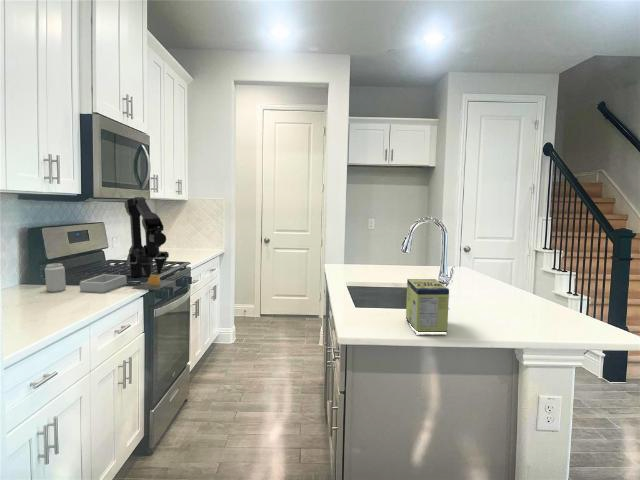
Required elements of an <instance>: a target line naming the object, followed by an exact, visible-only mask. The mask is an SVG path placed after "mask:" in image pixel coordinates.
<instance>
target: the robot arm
mask: <svg viewBox="0 0 640 480" xmlns="http://www.w3.org/2000/svg"><path fill="white" fill-rule="evenodd" d="M124 208H125V212H126V213H127V215H128V217H129V219H130V223H129V224H130V235H131V237H130V238H131V245H130V248H129V249H128V255H127V259H126V265H127V266H128V267H129V269H130V275H128V276H130V277H129V278H142V277H143V276H145V277H146V278H147V279H148V278H149V277H150V275H151V274H152V269H153V266H154V263H153V262H155V264H156V272H157V274H161V272H162V270H163V268H164V266H165V264H166V262H167V260H168V258H169V255H170V254H169V252H168V251H161V250H160V248H161V247H162V246H163V245H164V244H165V243H166V241H167V236H166V234H164V233H163V231H164V228H165V227H164V224H163V222H162V220H161V218H160V216H159V215H158V214H157V213H155V212H153V211H152V210H151V208H150V206H149V205H148V204H147V202H146V198H145V197H143V196H134V197H133V198H129V199H126V201H124ZM141 218H142V219H141ZM141 225H142V226H141ZM141 227H143V230H144V233H145V244H144V245H143V244H142V241H143V240H142V229H141ZM141 276H142V277H141Z"/></svg>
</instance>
